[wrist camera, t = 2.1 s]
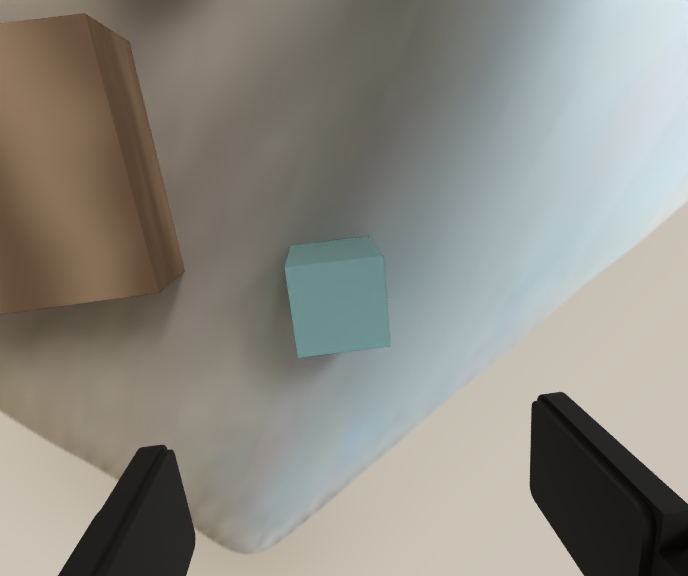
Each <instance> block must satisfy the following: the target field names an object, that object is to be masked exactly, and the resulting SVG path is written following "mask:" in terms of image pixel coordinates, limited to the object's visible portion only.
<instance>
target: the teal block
mask: <svg viewBox="0 0 688 576" xmlns="http://www.w3.org/2000/svg"><path fill="white" fill-rule="evenodd" d="M284 268H285V275H286V282H287V288H288V295H289V302H290V308H291V315H292V322H293V329H294V335H295V342H296V349H297V355H298V358H301V357H309V356H317V355H325V354H333V353H341V352H349V351H357V350H365V349H373V348H381V347H389V346H390V335H389V322H388V310H387V297H386V284H385V271H384V259H383V255H382V254H381V252H380V251H379V250H378V248H377V247H376V245H375V244H374V243H373V241H372V240H371V239H370V237H369V236H367V237H358V238H349V239H341V240H332V241H323V242H315V243H306V244H297V245H291V246H290V249H289V253H288V256H287V260H286V264H285V267H284Z"/></svg>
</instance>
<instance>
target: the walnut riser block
mask: <svg viewBox="0 0 688 576" xmlns="http://www.w3.org/2000/svg"><path fill="white" fill-rule="evenodd" d="M184 271H185V270H184V266H183V262H182V258H181V254H180V250H179V245H178V241H177V237H176V233H175V229H174V225H173V221H172V217H171V212H170V208H169V204H168V200H167V196H166V192H165V188H164V184H163V179H162V175H161V171H160V167H159V163H158V159H157V155H156V151H155V146H154V142H153V138H152V134H151V130H150V126H149V122H148V118H147V113H146V109H145V105H144V101H143V97H142V93H141V89H140V85H139V80H138V76H137V72H136V68H135V64H134V60H133V56H132V52H131V48H130V43H129V42H128V41H127V40H125V39H124V38H122V37H120V36H119V35H117V34H116V33H114V32H113V31H111V30H110V29H108V28H107V27H105V26H103V25H102V24H100V23H99V22H97V21H96V20H94V19H93V18H91V17H89V16H88V15H86V14H76V15H68V16H59V17H51V18H42V19H34V20H25V21H17V22H9V23H0V314H6V313H14V312H21V311H28V310H36V309H43V308H50V307H58V306H65V305H72V304H80V303H87V302H94V301H102V300H109V299H116V298H124V297H131V296H138V295H146V294H153V293H159V292H160V291H161V290H163V289H164V288H165V287H166V286H167V285H169V284H170V283H171V282H172V281H173V280H175V279H176V278H177V277H178V276H179V275H181V274H182V273H183V272H184Z"/></svg>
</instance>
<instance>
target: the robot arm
mask: <svg viewBox="0 0 688 576" xmlns="http://www.w3.org/2000/svg"><path fill="white" fill-rule="evenodd" d="M531 415H532V416H531V454H530V455H531V456H530V490H531V494H532V496H533V499H534V501H535V502H536V504H537V505H538V507H539V508H540V510H541V511H542V513H543V514H544V516H545V517H546V519H547V520H548V522H549V523H550V525H551V526H552V528H553V529H554V531H555V532H556V534H557V535H558V537H559V538H560V540H561V541H562V543H563V545H564V546H565V548H566V549H567V551H568V552H569V554H570V555H571V557H572V558H573V560H574V561H575V563H576V564H577V566H578V567H579V569H580V570H581V572H582V573H583V574H584V576H688V504H687V503H686V502H685V501H684V500H683V499H682V498H680V497H679V496H678V495H677V494H676V493H675V492H674V491H673V490H672V489H670V488H669V487H668V486H667V485H666V484H665V483H664V482H663V481H662V480H660V479H659V478H658V477H657V476H656V475H655V474H654V473H653V472H652V471H650V470H649V469H648V468H647V467H646V466H645V465H644V464H643V463H642V462H640V461H639V460H638V459H637V458H636V457H635V456H634V455H632V454H631V453H630V452H629V451H628V450H627V449H626V448H625V447H624V446H623V445H621V444H620V443H619V442H618V441H617V440H616V439H615V438H614V437H613V436H612V435H610V434H609V433H608V432H607V431H606V430H605V429H604V428H603V427H602V426H600V425H599V424H598V423H597V422H596V421H595V420H594V419H593V418H591V416H589V415H588V414H587V413H586V412H585V411H584V410H583V409H582V408H581V407H579V406H578V405H577V404H576V403H575V402H574V401H573V400H571V399H570V398H569V397H568V396H567V395H566V394H565V393H563V392H557V393H549V394H542V395H540V396H539V397H538V399H537V401H534V402H533V403H532V414H531ZM194 547H195V531H194V527H193V523H192V519H191V515H190V511H189V507H188V504H187V500H186V496H185V492H184V488H183V484H182V480H181V476H180V472H179V468H178V465H177V461H176V457H175V453H174V451H173V450H167V447H166V446H165V445H156V446H149V447H142V448H139V449H138V451H137V452H136V454H135V455H134V457H133V459H132V460H131V462H130V463H129V465H128V467H127V468H126V470H125V471H124V473H123V475H122V476H121V478H120V480H119V481H118V483H117V484H116V486H115V488H114V489H113V491H112V493H111V494H110V496H109V497H108V499H107V501H106V502H105V504H104V505H103V507H102V509H101V510H100V511H99V512H98V513H97V515H96V516H95V517H94V519H93V520H92V522H91V524H90V525H89V527H88V528H87V530H86V532H85V533H84V535H83V536H82V538H81V540H80V541H79V543H78V544H77V546H76V548H75V549H74V551H73V552H72V554H71V556H70V557H69V559H68V560H67V562H66V564H65V565H64V567H63V569H62V570H61V572H60V573H59V575H58V576H186V574H187V571H188V568H189V564H190V561H191V558H192V555H193V551H194Z"/></svg>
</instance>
